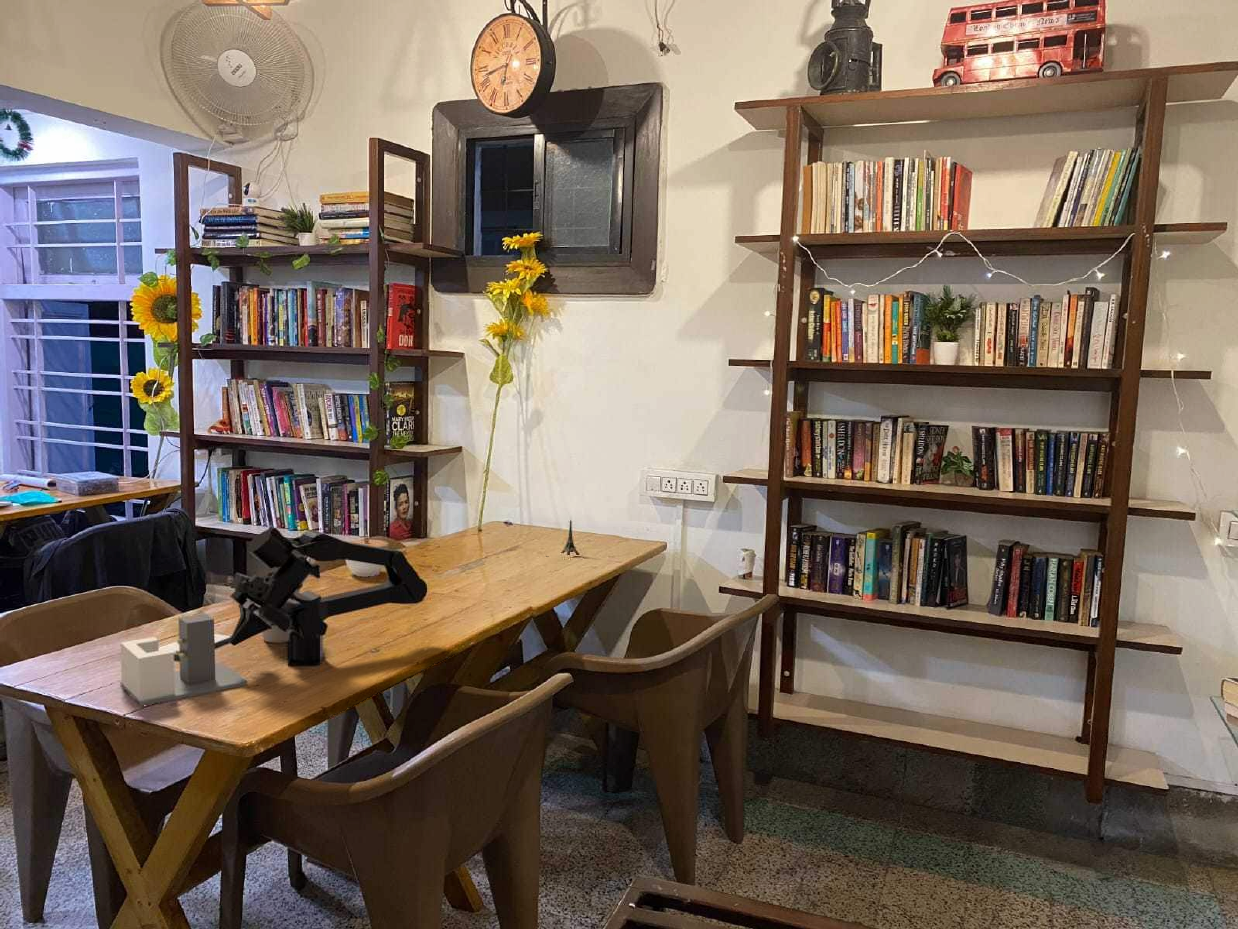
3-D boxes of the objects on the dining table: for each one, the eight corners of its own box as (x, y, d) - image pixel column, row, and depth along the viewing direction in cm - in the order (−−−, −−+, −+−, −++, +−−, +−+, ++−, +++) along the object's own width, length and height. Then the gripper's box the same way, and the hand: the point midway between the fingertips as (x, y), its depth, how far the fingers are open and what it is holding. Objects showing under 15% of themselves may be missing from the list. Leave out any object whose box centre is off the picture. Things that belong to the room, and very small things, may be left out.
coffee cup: (311, 634, 217) (310, 570, 216) (288, 647, 208) (287, 580, 206) (272, 631, 219) (271, 567, 218) (247, 643, 210) (246, 577, 208)
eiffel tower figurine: (596, 555, 315) (597, 516, 313) (589, 561, 305) (590, 521, 304) (553, 552, 318) (554, 513, 316) (544, 558, 308) (545, 518, 307)
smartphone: (203, 638, 215) (148, 657, 199) (203, 631, 214) (148, 650, 199) (235, 643, 212) (182, 663, 197) (235, 636, 212) (182, 655, 197)
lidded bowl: (392, 569, 284) (392, 533, 283) (383, 579, 272) (383, 541, 271) (350, 568, 284) (350, 532, 283) (339, 578, 271) (339, 540, 270)
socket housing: (221, 666, 194) (220, 624, 193) (247, 685, 184) (246, 641, 183) (120, 685, 181) (119, 641, 180) (141, 707, 171) (140, 660, 170)
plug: (206, 672, 188) (205, 613, 186) (215, 679, 184) (214, 619, 183) (174, 678, 184) (173, 618, 182) (183, 685, 180) (181, 624, 179)
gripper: (239, 550, 196) (185, 610, 190) (274, 566, 183) (217, 632, 176) (277, 582, 202) (226, 641, 196) (314, 600, 189) (260, 664, 183)
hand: (231, 644), depth 188 cm, fingers closed
